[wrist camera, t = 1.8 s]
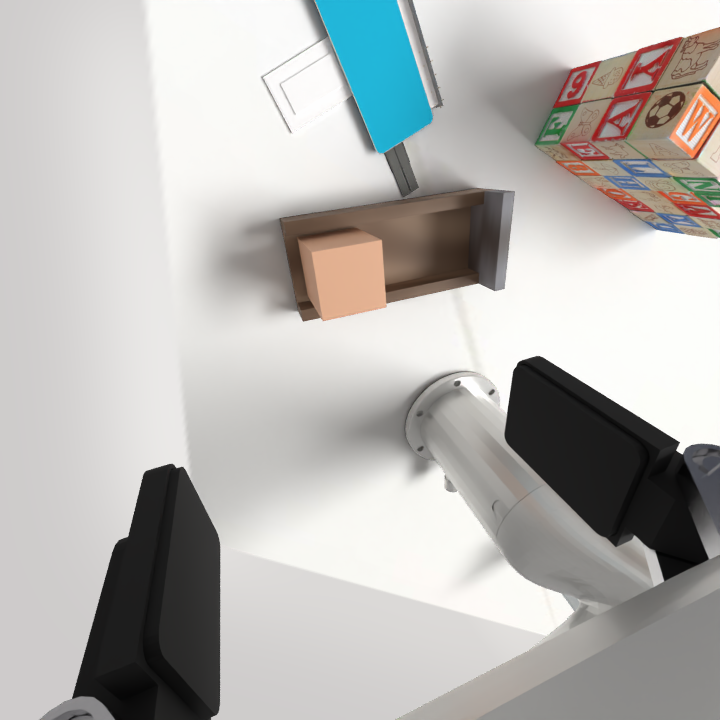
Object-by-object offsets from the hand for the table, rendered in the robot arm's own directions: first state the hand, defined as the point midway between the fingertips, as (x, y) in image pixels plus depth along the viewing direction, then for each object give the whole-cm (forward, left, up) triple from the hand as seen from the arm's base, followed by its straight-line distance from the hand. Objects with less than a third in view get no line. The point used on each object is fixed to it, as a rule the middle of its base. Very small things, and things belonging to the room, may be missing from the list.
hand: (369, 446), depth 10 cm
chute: (-1, -10, -24) cm, 26 cm away
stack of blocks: (+3, -35, -24) cm, 43 cm away
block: (-1, -5, -24) cm, 24 cm away
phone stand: (+13, -8, -25) cm, 29 cm away
